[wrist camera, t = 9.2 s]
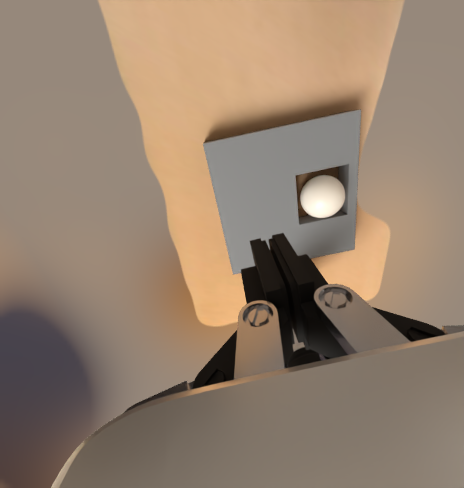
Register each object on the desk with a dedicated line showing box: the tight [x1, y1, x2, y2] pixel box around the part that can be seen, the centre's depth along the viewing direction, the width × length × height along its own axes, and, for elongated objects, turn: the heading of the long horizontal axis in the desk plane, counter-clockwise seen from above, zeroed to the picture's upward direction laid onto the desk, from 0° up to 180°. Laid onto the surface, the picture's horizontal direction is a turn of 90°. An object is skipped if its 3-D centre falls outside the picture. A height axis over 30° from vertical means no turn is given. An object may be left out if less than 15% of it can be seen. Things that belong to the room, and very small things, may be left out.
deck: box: [203, 110, 361, 274], centre depth 35 cm, size 20×20×3 cm
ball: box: [300, 175, 345, 218], centre depth 34 cm, size 6×6×6 cm
